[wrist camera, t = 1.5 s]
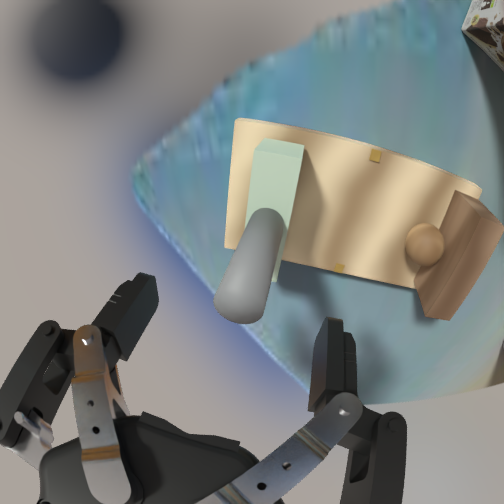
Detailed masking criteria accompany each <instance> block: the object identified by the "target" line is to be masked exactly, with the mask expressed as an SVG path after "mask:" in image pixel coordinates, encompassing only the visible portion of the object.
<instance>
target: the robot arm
mask: <svg viewBox="0 0 504 504" xmlns="http://www.w3.org/2000/svg"><path fill="white" fill-rule="evenodd" d="M158 302H159V297H158V291H157V285H156V279H155V276H152V275H148V274H145V273H141V272H140V273H138V274H137V275H136V277H135V278H134V279H133V281H130V280H127V281H126V282H124V283H123V284H121V285H120V286H119V287H118V288H117V290H116V291H115V292H114V295H112V296H111V298H110V299H109V301H108V302H107V303H106V305H105V306H104V307H103V309H102V310H101V311H100V313H99V314H98V315H97V317H96V318H95V320H94V321H93V322H92V324H91V325H84V326H81V327H80V328H79V329H77V330H67V329H61V328H60V326H59V324H58V323H57V322H56V321H53V320H48V321H45V322H43V323H42V324H41V325H40V326H39V327H38V328H37V330H36V331H35V333H34V334H33V336H32V337H31V339H30V340H29V342H28V343H27V345H26V346H25V348H24V350H23V351H22V353H21V354H20V356H19V358H18V359H17V361H16V363H15V364H14V366H13V368H12V369H11V371H10V373H9V375H8V376H7V378H6V380H5V382H4V383H3V385H2V387H1V389H0V444H1V445H2V446H3V447H5V448H7V449H8V450H10V451H12V452H14V453H16V454H17V455H18V456H20V457H21V458H22V459H23V460H25V461H26V462H27V463H29V464H30V465H31V466H33V467H34V468H35V469H37V470H38V471H39V477H40V497H39V500H38V502H37V504H284V502H283V500H282V499H281V497H282V496H284V495H285V494H286V493H287V492H288V491H289V490H291V489H292V488H293V487H294V486H295V485H297V483H299V482H300V481H301V480H302V479H303V478H305V477H306V476H307V475H308V474H309V473H310V472H311V471H312V470H313V469H314V468H315V467H316V466H317V465H318V464H320V462H322V461H323V460H324V458H325V457H326V456H327V455H328V453H329V451H330V450H331V449H332V448H333V447H334V446H335V445H336V444H337V445H340V446H343V447H345V448H347V449H349V454H348V461H347V467H346V473H345V480H344V485H343V491H342V495H341V500H340V504H402V497H403V488H404V478H405V465H406V446H407V424H406V421H405V419H404V418H403V417H402V415H400V414H399V413H397V412H387V413H385V414H384V415H382V414H379V413H377V412H374V411H372V410H370V409H368V408H366V407H365V406H364V405H363V404H362V403H361V401H360V399H359V398H358V395H357V364H356V343H355V341H354V338H353V336H352V334H351V333H348V332H343V320H342V319H336V318H331V317H326V318H325V320H324V322H323V324H322V326H321V329H320V331H319V333H318V335H317V337H316V340H315V344H314V350H313V363H312V374H311V385H310V394H309V404H308V411H310V412H314V417H313V418H312V419H311V420H310V421H309V422H308V423H307V424H306V425H305V426H304V427H302V428H301V429H300V430H298V431H297V432H296V433H295V434H294V435H293V436H291V437H290V438H289V439H288V440H287V441H285V442H284V443H283V444H282V445H281V446H279V447H278V448H277V449H276V450H274V451H273V452H272V453H271V454H269V455H268V456H267V457H265V458H264V459H263V460H262V461H259V460H258V459H257V458H256V457H255V456H254V455H253V454H252V453H251V452H249V451H248V450H246V449H245V448H243V447H241V446H239V444H240V441H236V440H231V439H227V438H223V437H219V436H214V435H197V434H188V433H186V432H184V431H182V430H181V429H179V428H177V427H176V426H174V425H173V424H171V423H169V422H168V421H166V420H165V419H162V418H159V417H156V416H154V415H151V414H149V413H146V412H144V411H143V412H142V415H141V416H135V415H132V416H130V413H129V410H128V407H127V405H126V402H125V400H124V397H123V392H122V388H121V383H120V379H119V374H118V368H117V364H116V363H117V362H118V360H119V359H122V360H124V361H127V360H128V358H129V356H130V355H131V353H132V351H133V349H134V347H135V346H136V344H137V342H138V340H139V339H140V337H141V335H142V333H143V332H144V330H145V328H146V326H147V325H148V323H149V321H150V320H151V318H152V316H153V315H154V313H155V311H156V309H157V306H158ZM503 348H504V343H503ZM51 361H52V362H51ZM49 364H50V365H49ZM48 366H49V367H48ZM47 368H48V369H47ZM45 371H46V372H45ZM44 373H45V374H44ZM43 375H44V376H43ZM74 376H75V377H74ZM70 384H71V386H72V395H73V403H74V410H75V416H76V422H77V428H78V433H79V437H77V438H75V439H73V440H71V441H69V442H66V443H64V444H61V445H59V446H57V447H54V448H52V447H51V443H52V442H53V440H54V437H53V432H52V428H51V424H52V421H53V419H54V417H55V415H56V413H57V410H58V408H59V406H60V404H61V402H62V400H63V398H64V396H65V394H66V392H67V390H68V388H69V386H70Z"/></svg>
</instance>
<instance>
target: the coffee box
mask: <svg viewBox="0 0 504 504" xmlns="http://www.w3.org/2000/svg"><path fill="white" fill-rule="evenodd" d="M462 31H463V33H465V34H466V35H467V36H468V37H469V38H470V39H471V40H472V41H474V42H475V43H476V44H477V45H478V46H479V47H480V48H481V49H482V50H483V51H484V52H485V53H486V54H487V55H488V56H489V57H490V58H491V59H492V60H493V61H494V62H495V63H496V64H497V65H498V66H499V67H500V68H501V69H502V70H503V71H504V0H472V2H471V5H470V8H469V10H468V13H467V15H466V18H465V20H464V23H463V26H462Z"/></svg>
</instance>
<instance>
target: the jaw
mask: <svg viewBox="0 0 504 504" xmlns="http://www.w3.org/2000/svg"><path fill="white" fill-rule="evenodd" d="M303 151H304V145H301V144H296V143H291V142H286V141H280V140H275V139H269V138H264V139H263V140H262V141H261V143H260V144H259V145H258V146H257V147H256V148H255V149H254V154H253V162H252V170H251V178H250V187H249V195H248V204H247V212H246V221H245V229H244V232H243V234H242V237H241V239H240V241H239V243H238V245H237V248H236V250H235V252H234V254H233V256H232V258H231V261H230V263H229V265H228V267H227V269H226V272H225V274H224V276H223V278H222V280H221V283H220V285H219V287H218V289H217V291H216V294H215V296H214V299H213V300H214V301H213V303H214V306H215V309H216V310H217V311H218V313H219V314H220V315H221V316H223V317H224V318H226V319H227V320H229V321H232V322H235V323H239V324H250V323H254V322H256V321H258V320H259V319H260V318H261V317H262V316H263V313H264V309H265V305H266V301H267V297H268V293H269V289H270V285H271V281H273V282H277V277H278V273H279V268H280V264H281V259H282V255H283V250H284V246H285V241H286V237H287V232H288V227H289V222H290V218H291V213H292V208H293V203H294V198H295V193H296V188H297V183H298V178H299V173H300V168H301V163H302V157H303Z"/></svg>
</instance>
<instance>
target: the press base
mask: <svg viewBox="0 0 504 504" xmlns="http://www.w3.org/2000/svg"><path fill="white" fill-rule="evenodd" d="M264 138H269V139H275V140H280V141H286V142H291V143H296V144H301V145H304V151H303V157H302V163H301V168H300V173H299V178H298V183H297V188H296V193H295V198H294V203H293V208H292V213H291V218H290V222H289V227H288V232H287V237H286V241H285V246H284V250H283V255H282V259H281V260H285V261H289V262H294V263H299V264H303V265H308V266H312V267H317V268H322V269H326V270H331V271H334V272H338V273H345V274H349V275H354V276H359V277H363V278H368V279H372V280H377V281H382V282H386V283H391V284H396V285H400V286H405V287H409V288H414V289H417V292H418V295H419V298H420V301H421V304H422V308H423V311H424V314H425V317H430V318H436V319H442V320H449V321H450V319H451V318H452V317H453V315H454V314H455V312H456V311H457V310H458V308H459V307H460V305H461V304H462V302H463V301H464V299H465V298H466V296H467V295H468V293H469V292H470V290H471V289H472V287H473V286H474V284H475V283H476V281H477V279H478V278H479V276H480V274H481V273H482V271H483V269H484V268H485V266H486V264H487V262H488V261H489V259H490V257H491V255H492V253H493V251H494V250H495V248H496V246H497V244H498V242H499V240H500V238H501V236H502V234H503V232H504V226H503V225H502V223H501V222H500V221H499V220H498V219H497V218H496V217H495V216H494V215H493V214H492V213H491V212H490V211H489V210H488V209H487V208H486V207H485V206H484V205H483V204H482V203H481V202H480V201H479V197H480V195H481V192H482V189H481V188H479V187H478V186H477V185H476V184H475V183H472V182H470V181H468V180H466V179H464V178H461V177H459V176H457V175H455V174H452V173H450V172H448V171H445V170H443V169H440V168H438V167H435V166H433V165H430V164H427V163H425V162H422V161H419V160H417V159H414V158H411V157H408V156H405V155H402V154H400V153H397V152H393V151H390V150H387V149H384V148H381V147H378V146H374V145H371V144H367V143H364V142H360V141H357V140H353V139H349V138H345V137H341V136H337V135H333V134H329V133H325V132H320V131H316V130H311V129H306V128H301V127H296V126H291V125H285V124H279V123H273V122H267V121H260V120H253V119H246V118H238V119H236V120H235V126H234V137H233V147H232V158H231V169H230V180H229V192H228V205H227V218H226V231H225V246H224V247H225V248H230V249H234V250H236V248H237V245H238V243H239V241H240V239H241V237H242V234H243V232H244V229H245V221H246V212H247V204H248V195H249V187H250V178H251V170H252V162H253V154H254V149H255V148H256V147H257V146H258V145H259V144H260V143H261V141H262V140H263V139H264Z"/></svg>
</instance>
